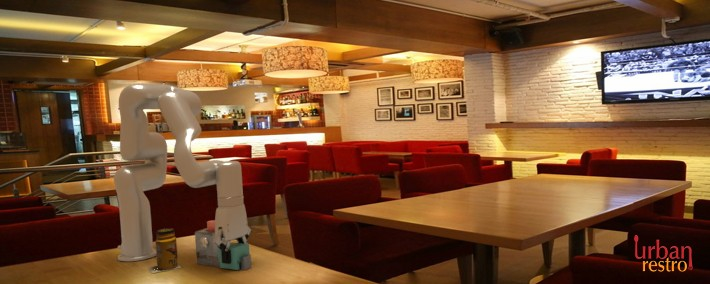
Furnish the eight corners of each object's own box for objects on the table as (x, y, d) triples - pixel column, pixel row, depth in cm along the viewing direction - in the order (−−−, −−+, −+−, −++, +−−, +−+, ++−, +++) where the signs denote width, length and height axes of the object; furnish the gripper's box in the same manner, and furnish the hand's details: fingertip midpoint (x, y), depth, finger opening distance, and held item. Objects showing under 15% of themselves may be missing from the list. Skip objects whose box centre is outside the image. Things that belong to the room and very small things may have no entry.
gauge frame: (195, 255, 163) (193, 232, 163) (213, 248, 171) (212, 226, 170) (213, 257, 159) (211, 233, 159) (230, 250, 167) (229, 228, 166)
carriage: (219, 267, 147) (217, 247, 146) (232, 262, 152) (231, 242, 152) (236, 270, 143) (235, 249, 143) (250, 264, 149) (248, 244, 148)
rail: (197, 264, 153) (196, 251, 153) (204, 261, 156) (203, 249, 155) (244, 270, 144) (243, 257, 144) (251, 267, 147) (250, 254, 146)
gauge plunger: (206, 236, 164) (205, 222, 164) (212, 234, 167) (211, 220, 167) (212, 237, 163) (211, 222, 163) (218, 235, 166) (218, 220, 165)
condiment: (181, 267, 150) (179, 229, 149) (152, 273, 145) (149, 234, 145) (176, 262, 156) (173, 226, 156) (148, 268, 151) (145, 230, 151)
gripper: (240, 196, 156) (243, 251, 157) (200, 206, 141) (204, 267, 142) (258, 197, 153) (262, 253, 153) (219, 207, 137) (223, 269, 138)
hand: (234, 259), depth 148 cm, fingers closed on carriage, 6 cm apart
